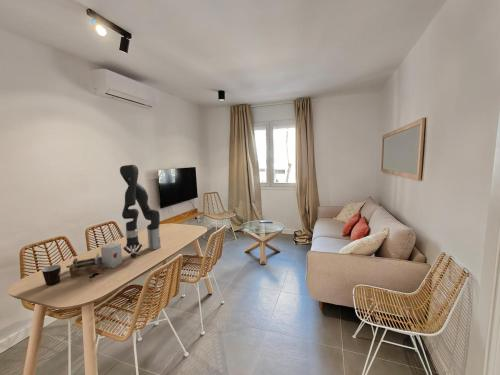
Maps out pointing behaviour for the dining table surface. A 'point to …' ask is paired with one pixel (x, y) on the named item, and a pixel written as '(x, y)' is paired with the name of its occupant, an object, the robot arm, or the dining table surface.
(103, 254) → the supplement box
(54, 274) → the coffee mug
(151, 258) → the dining table surface
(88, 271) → the brown wooden box
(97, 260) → the pusher plate
